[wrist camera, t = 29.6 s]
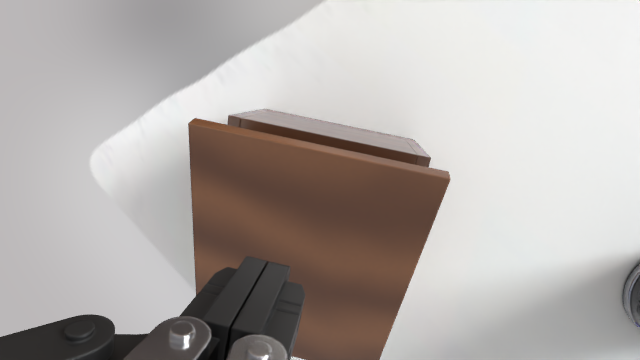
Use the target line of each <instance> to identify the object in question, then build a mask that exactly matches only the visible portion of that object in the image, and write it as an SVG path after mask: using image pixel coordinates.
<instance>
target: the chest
mask: <svg viewBox="0 0 640 360" xmlns="http://www.w3.org/2000/svg"><path fill="white" fill-rule="evenodd" d="M227 125H230V126H235V127H239V128H244V129H249V130H253V131H258V132H263V133H268V134H272V135H277V136H282V137H286V138H291V139H296V140H301V141H305V142H310V143H315V144H319V145H324V146H329V147H334V148H338V149H343V150H348V151H353V152H357V153H362V154H367V155H371V156H376V157H381V158H386V159H390V160H395V161H400V162H404V163H409V164H414V165H419V166H423V167H429V163H430V160H431V157H430V156H429V155H428V154H427V153H426V152H425V151H424V150H423V149H422V148H421V147H420V146H419V145H418V144H417V143H416V142H415V141H414V140H413V139H408V138H403V137H398V136H393V135H389V134H384V133H379V132H374V131H369V130H364V129H360V128H355V127H350V126H345V125H340V124H335V123H331V122H326V121H321V120H316V119H311V118H306V117H302V116H297V115H292V114H287V113H282V112H277V111H273V110H268V109H261V110H255V111H250V112H245V113H239V114H234V115H229V116H228V124H227Z"/></svg>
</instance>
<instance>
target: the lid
mask: <svg viewBox="0 0 640 360" xmlns="http://www.w3.org/2000/svg"><path fill="white" fill-rule="evenodd" d="M188 125H189V147H190V169H191V191H192V213H193V234H194V256H195V278H196V295H197V294H198V293H199V292H200V291H201V290H202V288H203V287H204V286H205V285H206V284H207V283H208V281H209V280H210V279H211V277H212V276H213V275H214V274H215V273H216V272H218V271H220V270H222V269H224V268H226V267H231V268H235V269H238V267H239V266H240V264H241V263H242V262H243V260H244V259H245V257H246V256H250V257H254V258H258V259H262V260H266V261H268V262H269V261H270V262H275V263H279V264H283V265H287V266H290V267H291V269H290V275H289V280H288V281H289V282H293V283H297V284H301V285H302V287H303V289H304V292H305V300H304V305H303V309H302V314H301V319H300V324H299V329H298V334H297V338H296V341H295V345H294V348H293V352H292V355H291V356H294V357H298V358H301V359H305V360H379V359H380V357H381V354H382V351H383V349H384V346H385V344H386V341H387V339H388V336H389V334H390V331H391V329H392V326H393V324H394V321H395V319H396V316H397V313H398V311H399V308H400V306H401V303H402V301H403V298H404V296H405V293H406V291H407V288H408V286H409V283H410V281H411V278H412V275H413V273H414V270H415V268H416V265H417V263H418V260H419V258H420V255H421V253H422V250H423V248H424V245H425V243H426V240H427V238H428V235H429V232H430V230H431V227H432V225H433V222H434V220H435V217H436V215H437V212H438V210H439V207H440V205H441V202H442V200H443V197H444V194H445V192H446V189H447V187H448V184H449V182H450V176H449V172H447V171H442V170H438V169H433V168H428V167H423V166H419V165H414V164H409V163H404V162H400V161H395V160H390V159H386V158H381V157H376V156H371V155H367V154H362V153H357V152H353V151H348V150H343V149H338V148H334V147H329V146H324V145H319V144H315V143H310V142H305V141H301V140H296V139H291V138H286V137H282V136H277V135H272V134H268V133H263V132H258V131H253V130H249V129H244V128H239V127H235V126H230V125H225V124H220V123H216V122H211V121H206V120H201V119H197V118H195V119H193V120H192V121H191V122H189V124H188Z"/></svg>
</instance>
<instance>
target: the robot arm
mask: <svg viewBox="0 0 640 360" xmlns="http://www.w3.org/2000/svg"><path fill="white" fill-rule="evenodd" d="M290 269H291V267H290V266H287V265H283V264H279V263H275V262H270V261H269V262H268V261H266V260H262V259H258V258H254V257H250V256H246V257H245V259H244V260H243V262H242V263H241V264H240V266H239V267H238V269H235V268H231V267H226V268H224V269H222V270H220V271H218V272H216V273H215V274H214V275H213V276H212V277H211V279H210V280H209V281H208V283H207V284H206V285H205V286H204V287H203V288H202V290H201V291H200V292H199V293H198V294H197V295H196V297H195V298H194V299H193V300H192V302H191V303H190V304H189V305H188V306H187V308H186V309H185V310H184V311H183V313H182V314H181V315H180V316H179V317H174V318H171V319H168V320H166V321H164V322H162V323H161V324H159V325H158V326H157V327H156V328H155V329H154V330H152V331H151V332H150V333H149V334H139V335H130V334H127V335H126V334H115V327H114V324H113V322H112V321H111V320H109V319H108V318H106V317H103V316H99V315H80V316H75V317H71V318H67V319H64V320H61V321H57V322H53V323H50V324H46V325H42V326H39V327H35V328H31V329H28V330H24V331H20V332H17V333H13V334H10V335H6V336H3V337H0V360H290V359H291V355H292V352H293V348H294V345H295V341H296V338H297V334H298V329H299V324H300V319H301V314H302V309H303V305H304V300H305V292H304V289H303V287H302V285H301V284H297V283H293V282H289V281H288V280H289V275H290ZM623 302H624V307H625V310H626V313H627V315H628V316H629V318H630V319H631V321H632V322H633V323H634V324H635V325H636V326H637V327H638V328H640V264H639V265H638V266H637V267H636V268H635V269H634V270H633V272H632V273H631V274H630V276H629V278H628V280H627V282H626V285H625V288H624V293H623Z"/></svg>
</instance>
